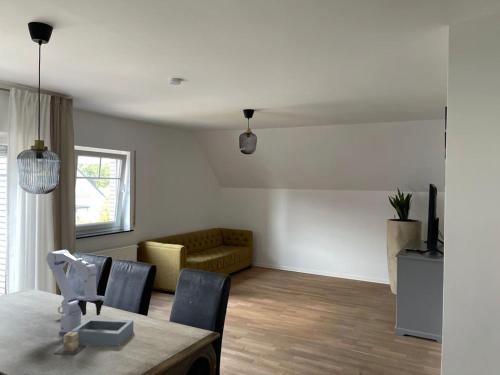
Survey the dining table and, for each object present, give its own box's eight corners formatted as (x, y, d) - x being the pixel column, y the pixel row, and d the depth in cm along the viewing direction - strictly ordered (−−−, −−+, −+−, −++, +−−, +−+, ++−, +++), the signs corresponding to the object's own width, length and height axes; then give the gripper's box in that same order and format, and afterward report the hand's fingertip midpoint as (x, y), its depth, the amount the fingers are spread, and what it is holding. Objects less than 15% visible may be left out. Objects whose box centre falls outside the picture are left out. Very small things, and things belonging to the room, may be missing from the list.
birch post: (63, 350, 177) (63, 335, 177) (69, 346, 182) (69, 331, 182) (72, 351, 177) (72, 336, 177) (78, 347, 181) (78, 332, 181)
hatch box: (70, 343, 186) (71, 331, 186) (89, 329, 204) (89, 318, 204) (118, 346, 184) (118, 333, 184) (133, 331, 202) (133, 320, 202)
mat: (53, 354, 175) (53, 353, 175) (66, 345, 185) (66, 344, 185) (74, 355, 174) (74, 354, 174) (86, 346, 184) (86, 345, 184)
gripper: (72, 290, 194) (73, 317, 194) (99, 289, 192) (100, 317, 192) (80, 287, 201) (81, 313, 201) (106, 286, 199) (107, 312, 199)
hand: (91, 314), depth 197 cm, fingers open, 7 cm apart
